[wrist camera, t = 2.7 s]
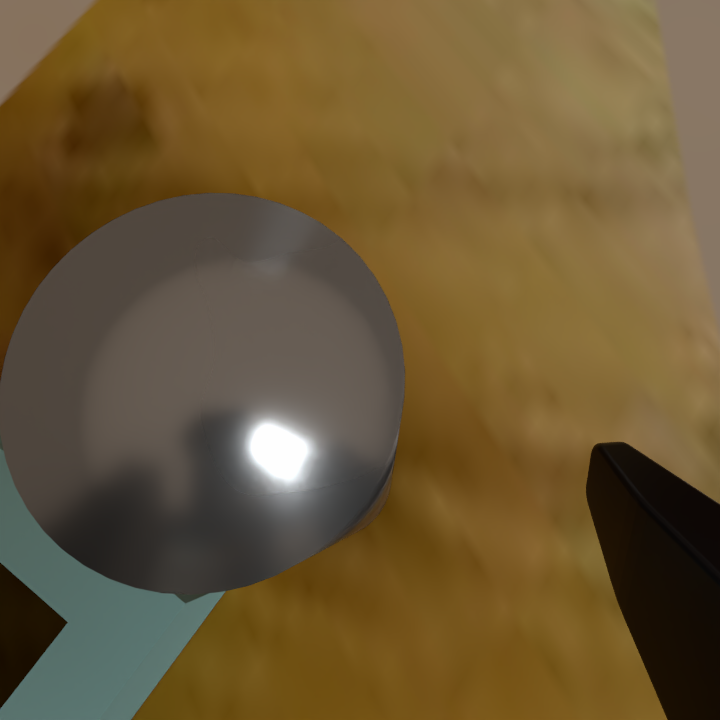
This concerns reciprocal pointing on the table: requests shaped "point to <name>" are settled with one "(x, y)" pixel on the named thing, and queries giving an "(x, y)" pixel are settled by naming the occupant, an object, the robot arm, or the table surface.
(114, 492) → the tall pin
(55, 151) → the table surface
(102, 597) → the hole block
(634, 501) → the robot arm
